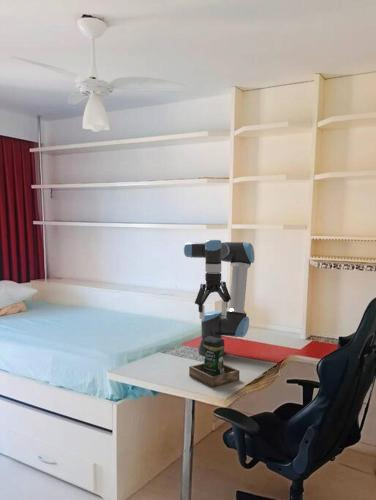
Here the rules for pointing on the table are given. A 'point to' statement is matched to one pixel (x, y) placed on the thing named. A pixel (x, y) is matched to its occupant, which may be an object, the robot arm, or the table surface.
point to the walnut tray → (215, 381)
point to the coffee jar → (213, 356)
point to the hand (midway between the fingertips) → (213, 317)
